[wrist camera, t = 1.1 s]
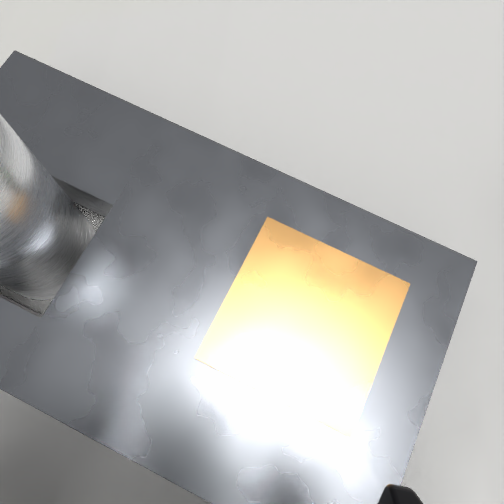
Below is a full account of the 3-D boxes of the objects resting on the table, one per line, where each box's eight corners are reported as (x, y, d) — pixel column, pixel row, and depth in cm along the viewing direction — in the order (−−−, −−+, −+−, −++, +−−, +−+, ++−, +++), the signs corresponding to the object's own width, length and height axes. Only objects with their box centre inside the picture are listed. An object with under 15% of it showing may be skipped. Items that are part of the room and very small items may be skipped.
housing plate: (345, 558, 19) (368, 590, 16) (-128, 303, 22) (-188, 288, 19) (447, 277, 23) (480, 259, 20) (38, 88, 26) (11, 45, 23)
